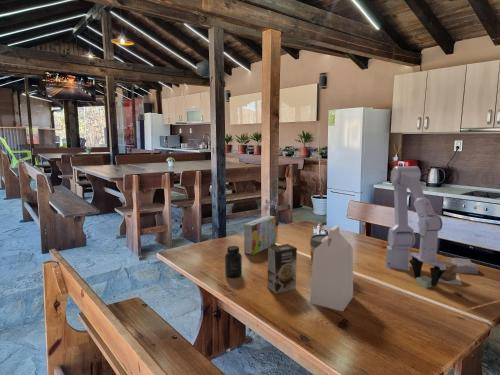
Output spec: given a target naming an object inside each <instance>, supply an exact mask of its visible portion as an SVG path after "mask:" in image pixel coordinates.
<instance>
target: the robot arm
mask: <svg viewBox="0 0 500 375" xmlns="http://www.w3.org/2000/svg"><path fill="white" fill-rule="evenodd" d="M390 175H391V176H390V182H391V186H393V191H394V194H393V195H394V197H393V198H394V199H393V200H394V225H393V226H391V227H390V228H389V229H388V235H387V242H388V244H389V245H386V256H385V259H384V260H385V268H387V269H395V270H396V269H397V270H402V271H411V268H412V270H413V275H414V278H415V279H416V278H418V277H422V270H423V269H422V268H423V264H424V263H425V264H427V265H429V266H432V267H430V268H429V271H430V276H431V277H430V278H431V285H432V286H433V287H436V286H438V283H439V282H438V281H439V279H440V277H441V275H442V274H443V273H444V271H445V270H446V264H444V263H442V261H440V260H438V258H437V253H438V252H437V251H438V239H439V238H438V237H439V231H441V230H442V229H443V220H442V217H441V216H440V215H438V214H437V213H436V212H435V211H434V208H433V206H432V203H431V201H430V199H429V198H426V197H425V194H424V191H423V188H422V184H421V182H420V180H421V176H422V173H421V169H420V168H419V166H417V165H414V166H405V165H403V166H398V165H395V166H394V167H393V168H392V171H391V174H390ZM408 190H409V191H410V193H411V195H412V196H413V199H414V203H413V207H414V209H415V212H416V214H417V217H418V219H419V220H418V221H417V225H418V229H419V230H418V233H419V235H420V240H419V241H420V242H419V252H417V253H416V252H415V251H413V252H410V250H411V249H412V247H413V246H414V245H415V243H416V236H415V232H414V228H412V227H411V226H409V219H408V218H409V216H408ZM410 265H411V268H410Z"/></svg>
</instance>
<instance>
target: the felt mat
mask: <svg viewBox="0 0 500 375" xmlns="http://www.w3.org/2000/svg"><path fill="white" fill-rule="evenodd" d="M438 283H445V284H453V285H459V286H462V285H463V283H462V280H461V278H460V276H459V275H458V274H456V279H455V280H451V281H445V280H443V279H439V281H438Z"/></svg>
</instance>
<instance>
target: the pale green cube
mask: <svg viewBox="0 0 500 375" xmlns="http://www.w3.org/2000/svg"><path fill="white" fill-rule="evenodd" d="M415 279H416V281H415V284H416V285H419V286H421V287H423V288H425V289H428V288H432V287H434V286H432V285H431V277H428V276H426V275H421V276H420V277H418V278H415Z"/></svg>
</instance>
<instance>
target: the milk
mask: <svg viewBox="0 0 500 375" xmlns="http://www.w3.org/2000/svg"><path fill="white" fill-rule="evenodd" d="M328 234H329V235H328V236H326V237H324V238H323V239H322V240H321V241H322V244H320V245H319V246H318V247H317V248H316V249H315V250H314V252H313V262H312V264H311V265H312V268H311V284H310V296H309V297H310V298H309V303H310V304H313V305H317V306H320V307H325V308H328V309H332V310H337V311H340V312H344V310H346V307H347V306H348V305H349V303H350V302H351V300H352V299H353V298H354V268H353V267H354V252H353V251H354V250H353V247H352V244H351V243H350V242H349V241H348V240H347V239H346V238H345V237H344V236H343V235H342V234H341V233H340V226H338V225H334V226H333V227H332V228H330V229H329V231H328Z"/></svg>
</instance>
